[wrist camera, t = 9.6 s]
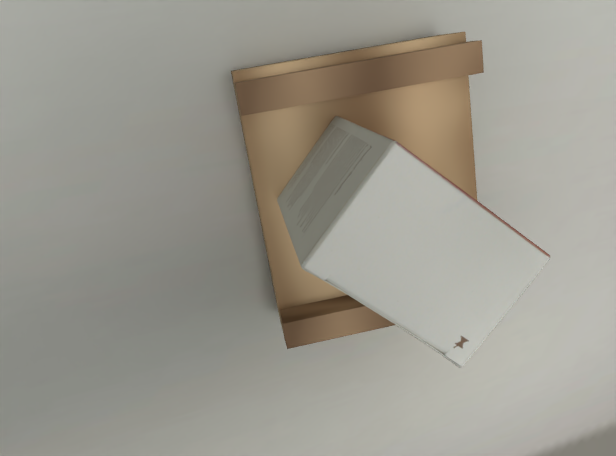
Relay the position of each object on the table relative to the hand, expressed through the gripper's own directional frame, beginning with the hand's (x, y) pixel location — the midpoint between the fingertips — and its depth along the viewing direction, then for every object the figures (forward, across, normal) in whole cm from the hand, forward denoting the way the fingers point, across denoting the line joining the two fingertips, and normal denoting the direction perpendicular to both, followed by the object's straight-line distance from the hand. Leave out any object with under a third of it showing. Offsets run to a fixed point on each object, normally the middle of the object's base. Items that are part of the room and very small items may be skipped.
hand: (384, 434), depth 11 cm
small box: (+19, +5, 0) cm, 20 cm away
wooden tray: (+23, +5, 0) cm, 24 cm away
